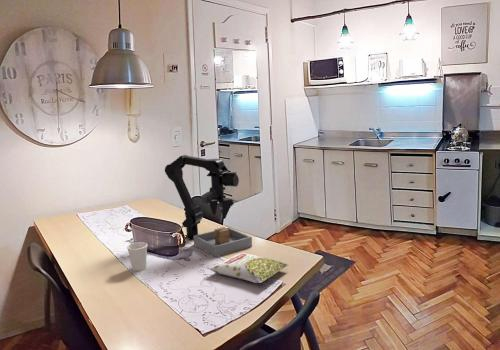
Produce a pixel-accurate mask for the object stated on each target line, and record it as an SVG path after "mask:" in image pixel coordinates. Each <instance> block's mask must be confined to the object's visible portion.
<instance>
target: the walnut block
mask: <svg viewBox="0 0 500 350" xmlns="http://www.w3.org/2000/svg"><path fill="white" fill-rule="evenodd" d="M227 228H228V227H224V226H222V227H217V228H214V230H213V231H215V243H216V244H218V245H221V244H224V243H228V242H230V238H229V229H227Z"/></svg>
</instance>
